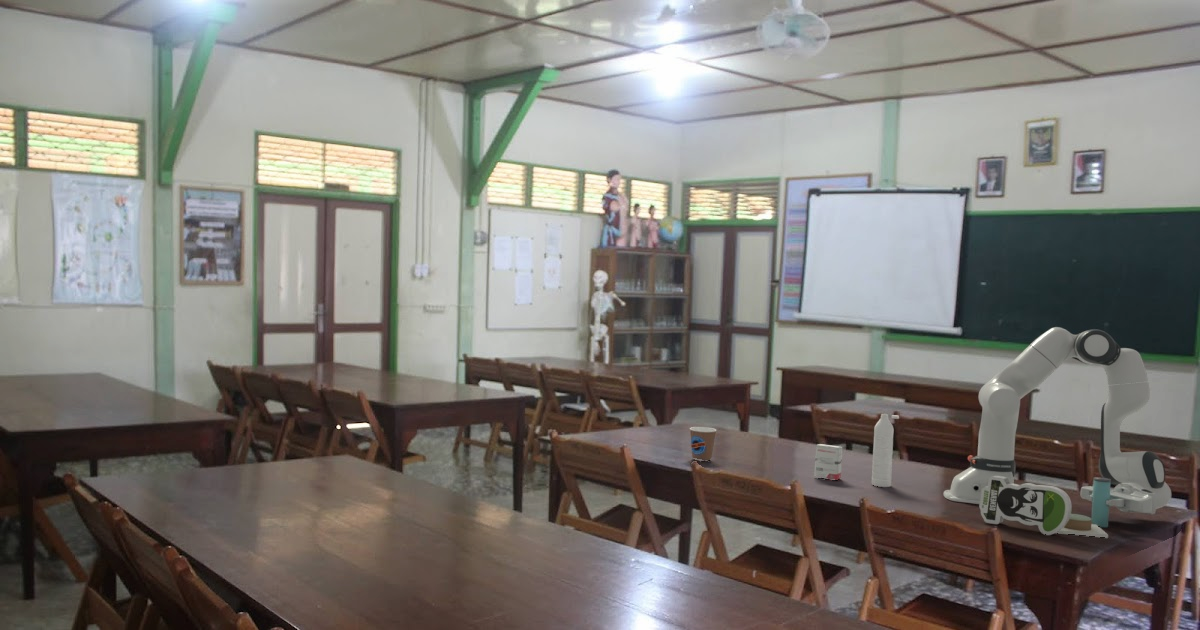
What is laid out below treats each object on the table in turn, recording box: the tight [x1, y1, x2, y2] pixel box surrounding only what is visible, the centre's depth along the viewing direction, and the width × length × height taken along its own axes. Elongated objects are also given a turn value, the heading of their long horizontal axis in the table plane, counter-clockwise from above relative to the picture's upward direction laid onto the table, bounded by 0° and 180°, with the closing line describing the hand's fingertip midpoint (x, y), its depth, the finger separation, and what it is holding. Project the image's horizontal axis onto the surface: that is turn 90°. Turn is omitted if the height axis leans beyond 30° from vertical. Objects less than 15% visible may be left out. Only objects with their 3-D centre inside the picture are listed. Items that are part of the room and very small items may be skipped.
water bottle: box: [871, 413, 900, 488], centre depth 326 cm, size 9×6×25 cm
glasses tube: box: [1090, 476, 1112, 528], centre depth 281 cm, size 5×5×14 cm
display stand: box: [1055, 513, 1109, 539], centre depth 274 cm, size 14×12×4 cm
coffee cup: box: [689, 426, 717, 460], centre depth 362 cm, size 10×10×12 cm
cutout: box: [978, 476, 1073, 536], centre depth 273 cm, size 15×3×25 cm
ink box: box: [813, 443, 843, 481], centre depth 336 cm, size 9×5×12 cm, turn 58°
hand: (1099, 500), depth 281 cm, fingers closed on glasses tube, 4 cm apart
